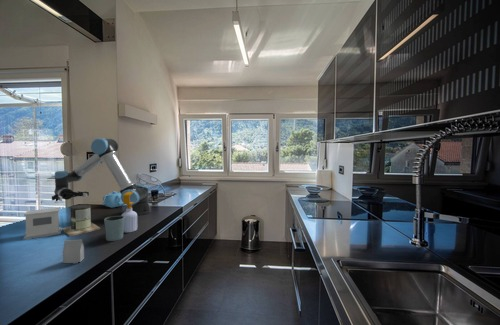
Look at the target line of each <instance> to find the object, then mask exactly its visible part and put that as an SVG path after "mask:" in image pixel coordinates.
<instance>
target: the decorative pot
mask: <svg viewBox="0 0 500 325" xmlns="http://www.w3.org/2000/svg"><path fill="white" fill-rule="evenodd" d="M102 200H103V202H102V206H105V207H106V208H110V209H114V208H116V207H118V208H119V207H121V208H122V206H124V205H125V204H124V203H123V202H122V200H121V193H120V192H117V191H116V190H115V191H114V190H113V191H112V192H110V193H107V194H106V195H103V197H102Z"/></svg>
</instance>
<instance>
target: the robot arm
mask: <svg viewBox="0 0 500 325" xmlns="http://www.w3.org/2000/svg"><path fill="white" fill-rule="evenodd" d="M90 149H91V151H92V152H93V155H92V156H90V157H89V158H88V159H86V160H85V161H84V162H82V163H81V164H79V166H78V167H76V168H75V169H74V170H73V171H71V172H69V171H67V170H57V171H55V172H54V184H55V185H54V188H55V189H54V191H53V192H54V195H52V196H51V201H55V202H58V201H60V202H63V200H70V199H72V198H77V197H84V199H87V198H88V197H89V195H90V194H89V191H73V190H72V189H71V188H69V183H74V182H79V181H81V180H82V179H83V177H84V176H86V175H87V173H89V172H90V171H92V170H93V169H94V168H95V167H97V166H98V165H99V164H101V163H102V162H103V161H104V163H105V164H106V167H107V168H108V170H109V171H110V173H111V175H112V176H113V178H114V180H115V182H116V183H117V185H118V186H119V188H120V189H119V193H121V200H122V202H123V195H124V194H125V193H126V192H133V193H132V194H131V195H130V202H134V203H132V205H131V207H132V211H134V212H136V213H137V216H142V215H147V214H150V213H151V212H152V211H151V207H150V203H149V186H148V184H136V183H135V182H132V180H131V178H130V176H129V175H128V174H127V171H126V170H125V168H124V167H123V164H122V163H121V162H120V160H119V158H118V156H117V152H118V150H119V144H118V142H117V141H116V140H115V139H112V138H104V137H98V138H95V139H93V141H92V142H91V145H90Z"/></svg>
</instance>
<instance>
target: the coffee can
mask: <svg viewBox="0 0 500 325" xmlns="http://www.w3.org/2000/svg"><path fill="white" fill-rule="evenodd" d="M91 206H92V205H91V204H88V203H87V204H77V205H72V206H70V227H71V230H72V231H80V230H85V229H88V228H90V227H91V223H92V221H91V220H92V219H91V218H92V217H91V216H92V215H91Z"/></svg>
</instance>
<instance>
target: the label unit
mask: <svg viewBox="0 0 500 325" xmlns="http://www.w3.org/2000/svg"><path fill="white" fill-rule="evenodd" d="M60 209H61V208H60V207H54V208H53V207H51V208H44V209H33V210H32V209H31V210H27V211H26V212H25V213H24V214H23V215H24V217H25V234H24V236H23V240H24V241H27V240H32V238H33V239H38V237H39V238H44V237H45V236H46V237H51V236H56V235H58V236H59V235H61V233H62V227H60ZM26 239H27V240H26Z"/></svg>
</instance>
